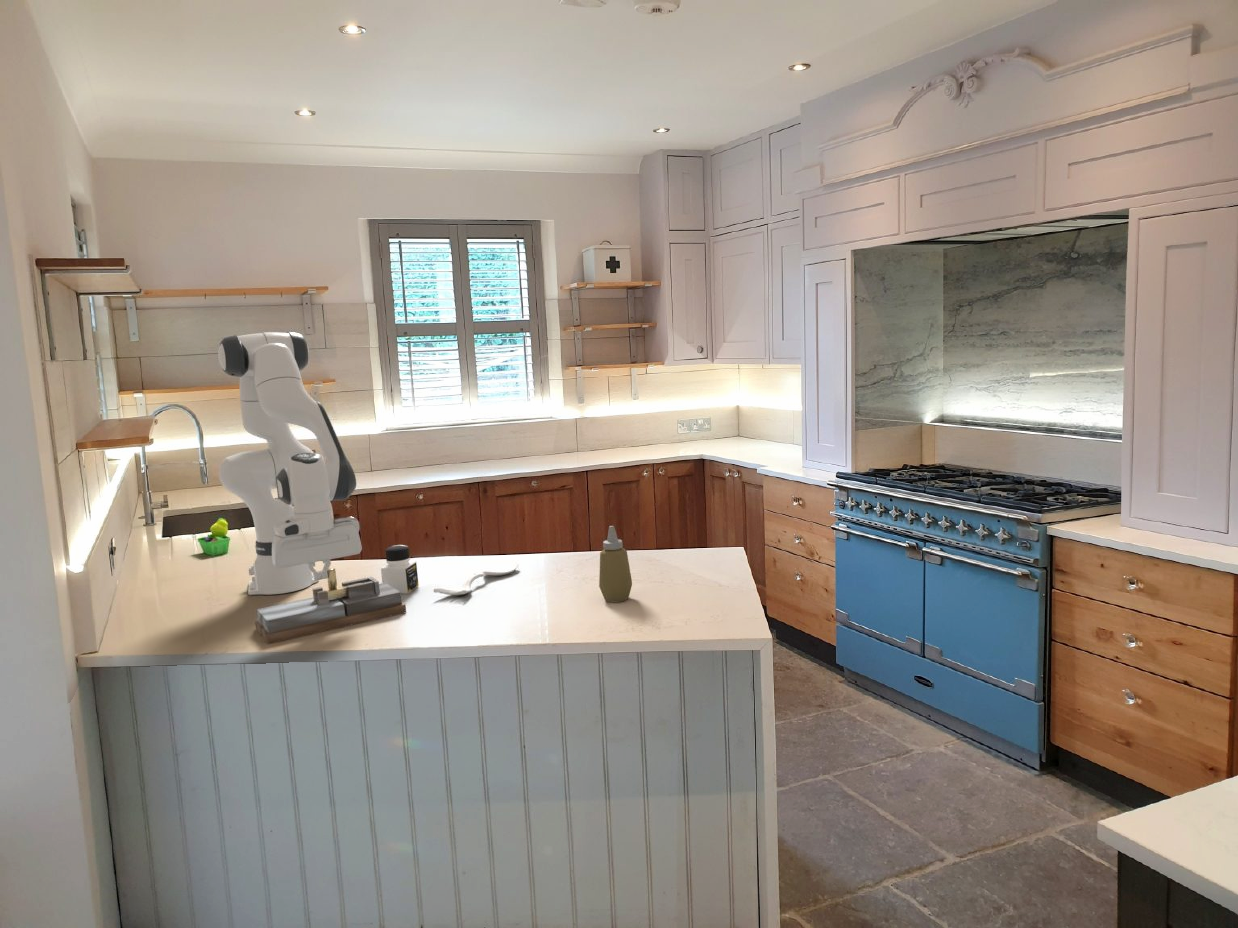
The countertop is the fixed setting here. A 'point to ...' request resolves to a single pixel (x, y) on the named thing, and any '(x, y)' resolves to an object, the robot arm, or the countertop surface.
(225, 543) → the fruit basket
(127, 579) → the countertop surface
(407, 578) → the medicine bottle
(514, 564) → the white fork
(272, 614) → the sliding barrel latch
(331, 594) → the bolt
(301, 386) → the robot arm
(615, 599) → the squeeze bottle
